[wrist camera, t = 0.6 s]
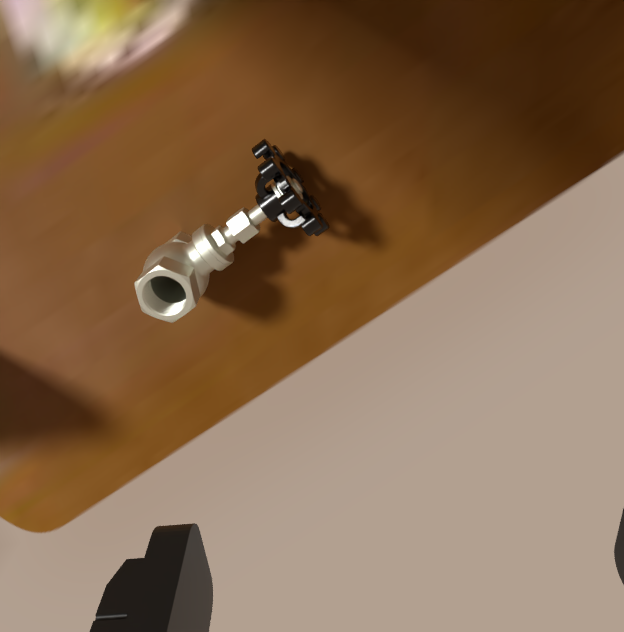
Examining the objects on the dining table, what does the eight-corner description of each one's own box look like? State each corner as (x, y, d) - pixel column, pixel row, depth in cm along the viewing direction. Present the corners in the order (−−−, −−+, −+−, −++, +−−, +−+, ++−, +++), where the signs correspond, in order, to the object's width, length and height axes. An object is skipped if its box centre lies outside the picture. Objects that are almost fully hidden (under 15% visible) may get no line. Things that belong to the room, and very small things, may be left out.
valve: (195, 306, 40) (328, 212, 37) (176, 352, 34) (332, 244, 31) (132, 237, 38) (268, 130, 34) (99, 273, 32) (260, 148, 29)
